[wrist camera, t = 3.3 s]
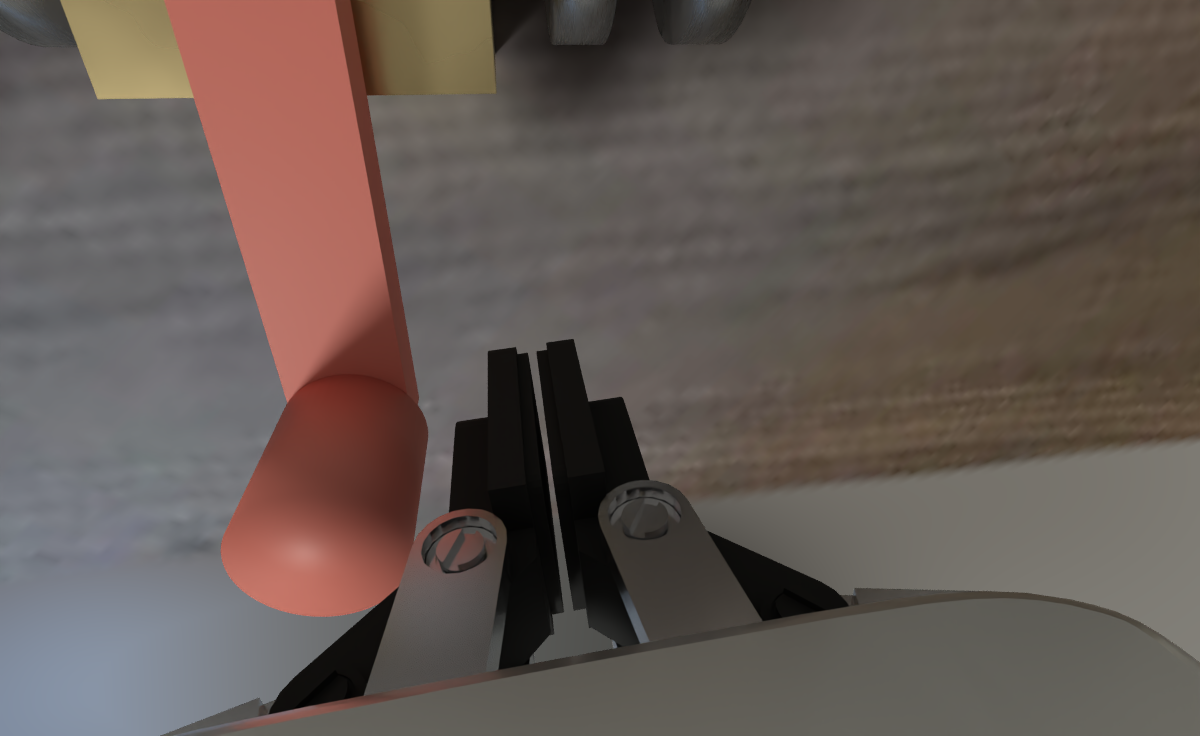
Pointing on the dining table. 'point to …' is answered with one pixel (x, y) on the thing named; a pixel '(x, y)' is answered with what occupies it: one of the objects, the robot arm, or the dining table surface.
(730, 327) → the dining table surface
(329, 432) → the lever
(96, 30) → the valve
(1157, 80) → the dining table surface
